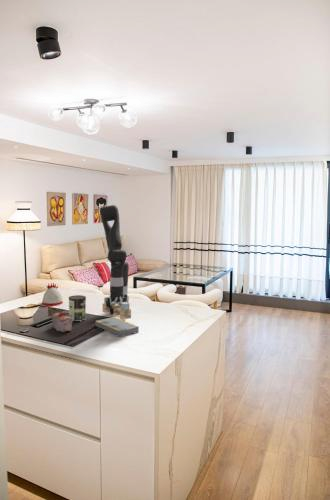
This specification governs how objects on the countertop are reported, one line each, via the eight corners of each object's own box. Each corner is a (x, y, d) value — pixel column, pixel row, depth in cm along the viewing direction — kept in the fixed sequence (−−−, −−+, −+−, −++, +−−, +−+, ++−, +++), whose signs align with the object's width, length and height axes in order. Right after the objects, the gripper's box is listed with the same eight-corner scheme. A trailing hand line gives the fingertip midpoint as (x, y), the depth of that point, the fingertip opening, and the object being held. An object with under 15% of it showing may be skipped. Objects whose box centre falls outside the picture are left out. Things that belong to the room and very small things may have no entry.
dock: (113, 321, 224) (113, 316, 224) (138, 331, 207) (138, 326, 207) (95, 325, 215) (95, 320, 215) (119, 336, 198) (119, 331, 198)
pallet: (110, 310, 219) (110, 302, 219) (130, 317, 205) (131, 309, 204) (102, 311, 216) (102, 303, 215) (122, 319, 201) (123, 310, 201)
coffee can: (88, 317, 231) (88, 295, 230) (81, 322, 221) (81, 299, 220) (73, 316, 233) (73, 294, 232) (65, 321, 223) (65, 298, 222)
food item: (74, 331, 206) (74, 314, 204) (61, 334, 200) (61, 316, 199) (62, 325, 215) (61, 309, 214) (49, 328, 210) (49, 311, 209)
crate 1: (109, 302, 218) (109, 296, 218) (112, 303, 216) (112, 297, 215) (104, 303, 216) (104, 297, 215) (107, 304, 213) (107, 298, 213)
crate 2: (125, 308, 206) (125, 301, 206) (129, 309, 204) (129, 303, 204) (120, 309, 204) (120, 302, 204) (124, 310, 202) (124, 304, 201)
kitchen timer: (41, 301, 267) (41, 281, 266) (60, 300, 273) (60, 280, 272) (43, 306, 255) (43, 285, 253) (64, 304, 261) (63, 284, 259)
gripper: (122, 282, 216) (122, 310, 218) (102, 285, 206) (102, 314, 208) (130, 284, 211) (130, 313, 212) (109, 287, 201) (109, 317, 203)
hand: (116, 313), depth 210 cm, fingers closed on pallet, 5 cm apart
